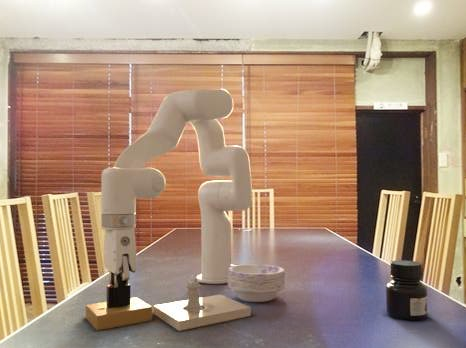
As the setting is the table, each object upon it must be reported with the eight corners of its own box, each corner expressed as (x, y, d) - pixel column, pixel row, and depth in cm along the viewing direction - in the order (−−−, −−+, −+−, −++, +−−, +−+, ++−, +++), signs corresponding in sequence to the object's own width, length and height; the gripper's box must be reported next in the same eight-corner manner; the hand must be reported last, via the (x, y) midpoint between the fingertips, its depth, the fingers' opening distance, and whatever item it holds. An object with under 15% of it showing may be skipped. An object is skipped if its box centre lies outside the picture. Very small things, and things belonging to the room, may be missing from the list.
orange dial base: (136, 309, 104) (136, 296, 104) (151, 320, 96) (151, 306, 96) (85, 318, 98) (85, 304, 98) (97, 330, 89) (97, 315, 90)
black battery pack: (128, 303, 99) (128, 282, 99) (130, 304, 98) (130, 283, 98) (106, 306, 96) (106, 285, 96) (108, 308, 95) (108, 286, 95)
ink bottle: (423, 324, 92) (422, 268, 92) (381, 317, 97) (381, 264, 97) (430, 312, 100) (430, 261, 101) (392, 307, 105) (391, 258, 105)
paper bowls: (290, 293, 119) (290, 264, 119) (276, 308, 105) (276, 275, 105) (239, 289, 124) (239, 261, 124) (219, 303, 110) (218, 272, 110)
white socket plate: (220, 302, 110) (220, 294, 110) (250, 315, 99) (250, 307, 99) (153, 314, 101) (153, 305, 101) (178, 331, 89) (178, 321, 89)
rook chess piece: (200, 320, 96) (199, 284, 96) (181, 318, 97) (181, 283, 97) (205, 314, 100) (205, 279, 100) (187, 313, 101) (187, 279, 101)
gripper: (146, 223, 93) (146, 308, 93) (124, 218, 106) (124, 293, 106) (112, 225, 89) (112, 314, 88) (92, 220, 102) (92, 298, 102)
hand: (118, 302), depth 97 cm, fingers closed on black battery pack
